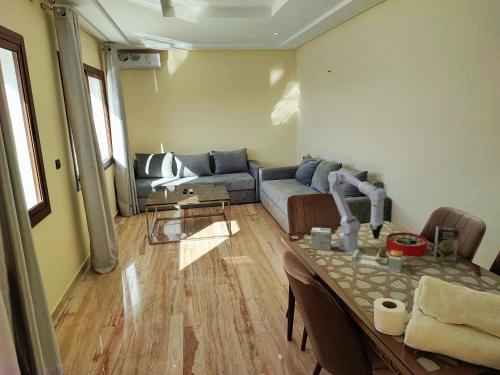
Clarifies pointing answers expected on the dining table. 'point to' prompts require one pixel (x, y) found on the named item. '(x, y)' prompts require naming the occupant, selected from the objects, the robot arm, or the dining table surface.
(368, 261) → the rail
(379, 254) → the carriage
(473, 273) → the dining table surface
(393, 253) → the button
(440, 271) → the dining table surface
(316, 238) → the light bulb box
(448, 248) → the coffee box
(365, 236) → the dining table surface
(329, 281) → the dining table surface
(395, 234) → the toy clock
